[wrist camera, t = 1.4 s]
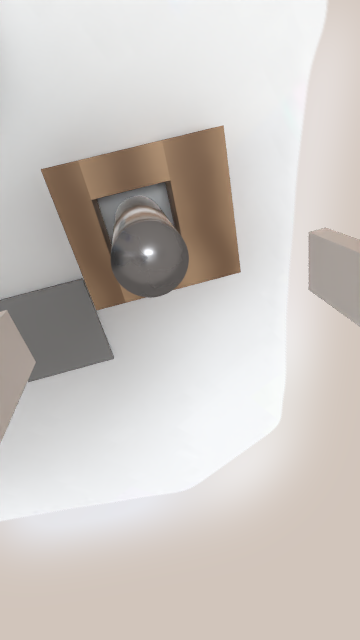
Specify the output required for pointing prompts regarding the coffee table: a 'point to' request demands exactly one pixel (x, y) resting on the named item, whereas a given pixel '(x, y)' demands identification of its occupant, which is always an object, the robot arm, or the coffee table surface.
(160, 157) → the housing
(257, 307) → the coffee table surface
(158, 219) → the shiny metal cylinder
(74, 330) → the mat
